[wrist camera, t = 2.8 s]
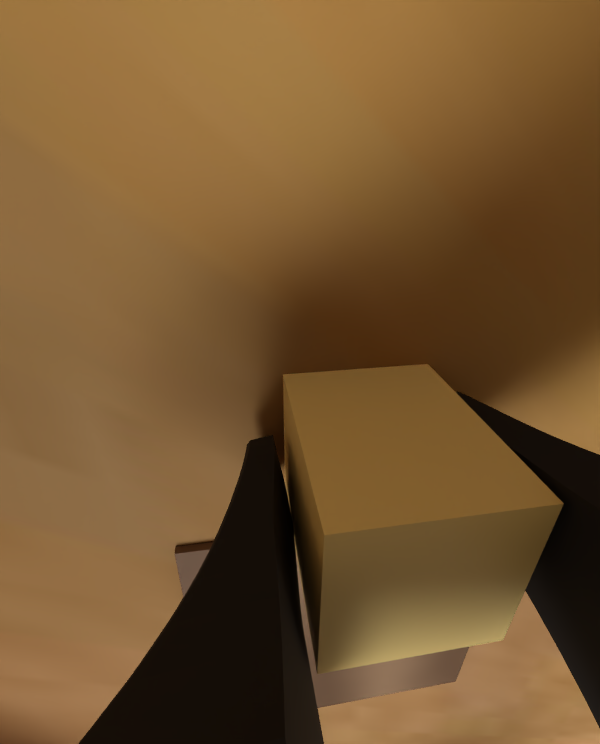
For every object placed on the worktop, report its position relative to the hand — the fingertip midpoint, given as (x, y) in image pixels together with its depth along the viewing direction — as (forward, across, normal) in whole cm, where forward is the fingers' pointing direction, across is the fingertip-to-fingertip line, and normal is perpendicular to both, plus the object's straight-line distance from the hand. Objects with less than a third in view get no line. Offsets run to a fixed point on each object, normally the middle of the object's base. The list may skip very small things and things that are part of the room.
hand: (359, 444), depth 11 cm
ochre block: (+2, 0, 0) cm, 2 cm away
